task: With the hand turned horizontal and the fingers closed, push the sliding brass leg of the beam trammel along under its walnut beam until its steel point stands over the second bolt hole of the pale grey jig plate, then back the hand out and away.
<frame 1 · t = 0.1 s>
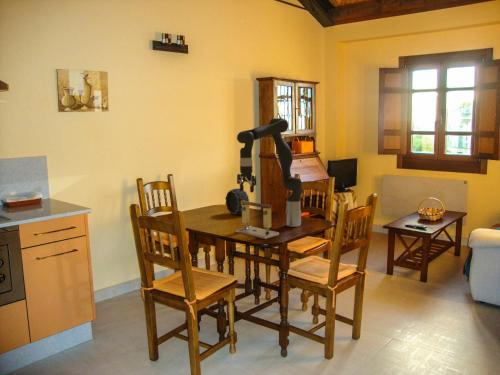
hand: (246, 191, 283), 29 cm above the table, tool pointing down, fingers open, 8 cm apart
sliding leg: (245, 216, 304), point 10 cm above the table, slide at 0.0 cm
beam: (255, 204, 297), point 18 cm above the table
dark treaded wheel: (237, 214, 357), on the table
fixed leg: (267, 233, 293), resting on jig plate
jig plate: (257, 233, 299), on the table
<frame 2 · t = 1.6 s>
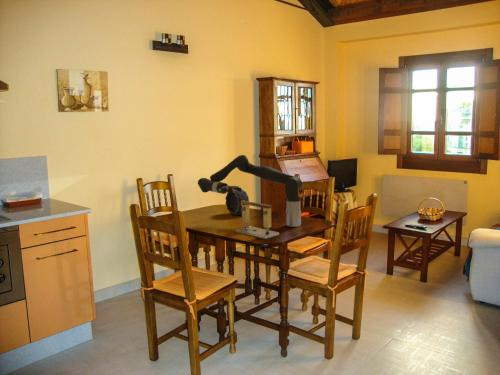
hand: (236, 190, 307), 26 cm above the table, tool horizontal, fingers open, 7 cm apart
nothing on the table moved.
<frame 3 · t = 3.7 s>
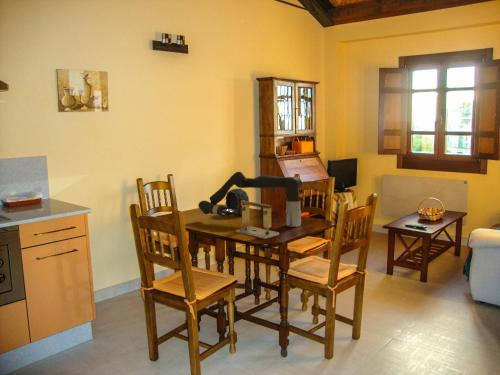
hand: (237, 214, 310), 10 cm above the table, tool horizontal, fingers closed
nothing on the table moved.
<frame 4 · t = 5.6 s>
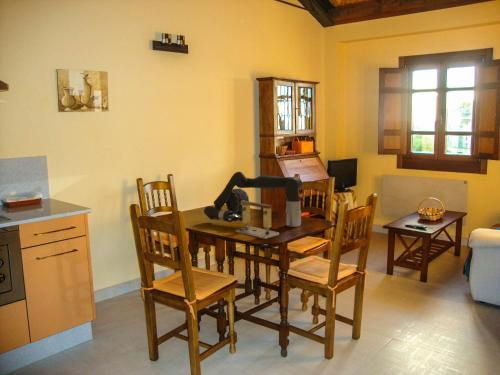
hand: (244, 219, 306), 7 cm above the table, tool horizontal, fingers closed
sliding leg: (245, 216, 304), point 10 cm above the table, slide at 0.5 cm, touching gripper
everything else where it was.
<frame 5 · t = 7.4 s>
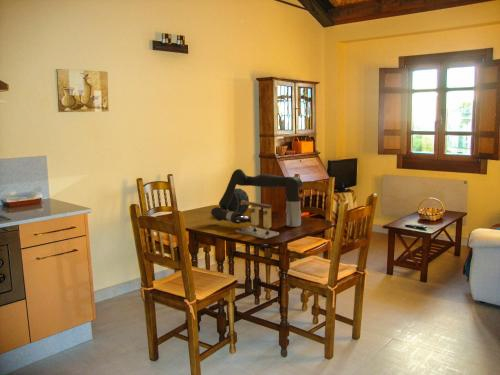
hand: (253, 221, 300), 7 cm above the table, tool horizontal, fingers closed
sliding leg: (254, 218, 298), point 10 cm above the table, slide at 8.2 cm, touching gripper
everything else where it was.
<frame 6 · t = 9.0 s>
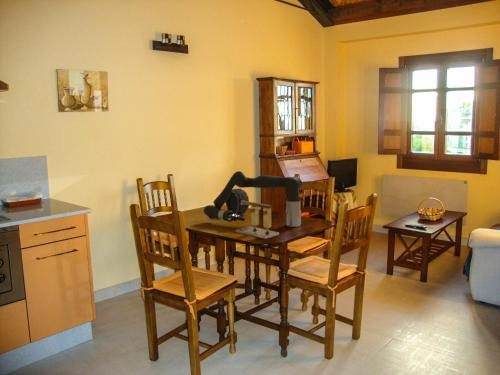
hand: (244, 219, 306), 8 cm above the table, tool horizontal, fingers closed
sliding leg: (254, 218, 298), point 10 cm above the table, slide at 8.2 cm
everything else where it was.
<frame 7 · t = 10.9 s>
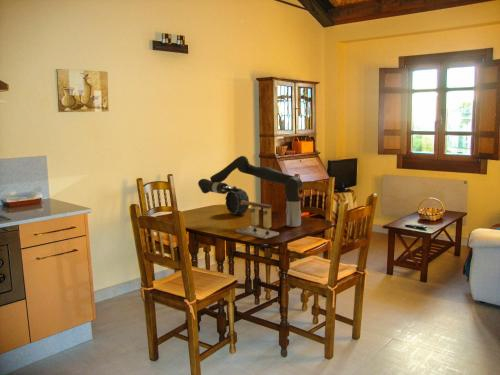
hand: (237, 190, 307), 26 cm above the table, tool horizontal, fingers closed
nothing on the table moved.
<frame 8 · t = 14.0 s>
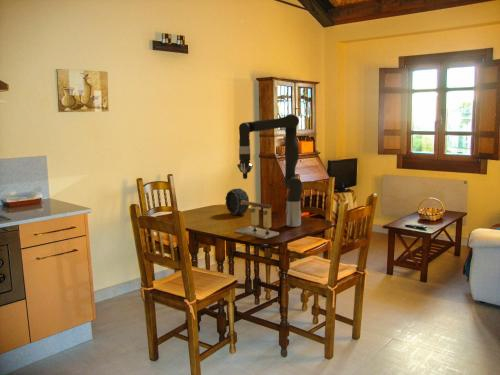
hand: (245, 178, 312), 33 cm above the table, tool pointing down, fingers closed
nothing on the table moved.
at the end: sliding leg slide at 8.2 cm; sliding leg touching nothing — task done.
